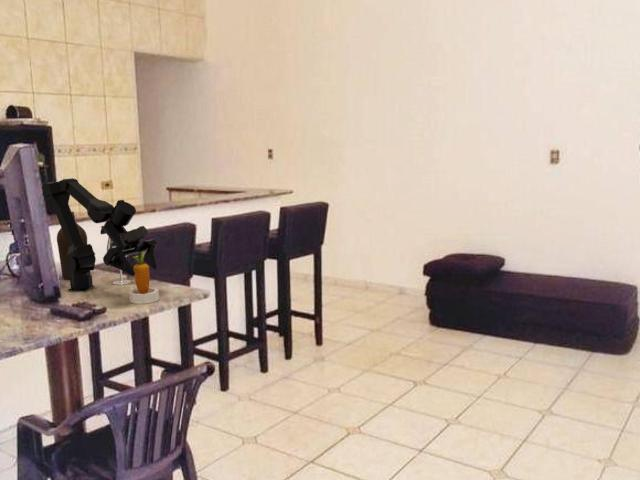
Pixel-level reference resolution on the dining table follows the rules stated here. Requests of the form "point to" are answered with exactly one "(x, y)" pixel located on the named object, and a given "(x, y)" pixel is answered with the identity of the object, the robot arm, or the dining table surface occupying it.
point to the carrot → (141, 275)
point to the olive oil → (64, 247)
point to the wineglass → (119, 269)
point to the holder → (144, 296)
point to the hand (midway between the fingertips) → (145, 271)
